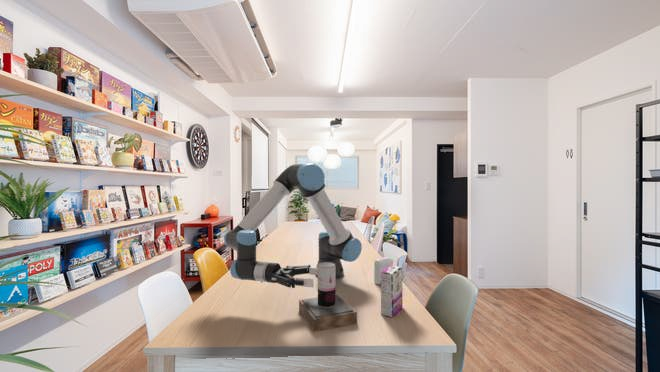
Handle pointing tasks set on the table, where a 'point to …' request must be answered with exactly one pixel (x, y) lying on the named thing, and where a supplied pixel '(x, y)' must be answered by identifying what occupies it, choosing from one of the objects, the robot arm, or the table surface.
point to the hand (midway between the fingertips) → (319, 277)
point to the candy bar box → (391, 290)
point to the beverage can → (326, 284)
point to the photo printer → (381, 268)
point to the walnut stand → (327, 314)
